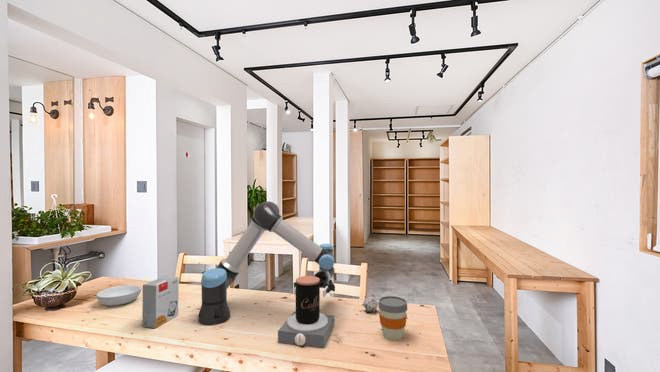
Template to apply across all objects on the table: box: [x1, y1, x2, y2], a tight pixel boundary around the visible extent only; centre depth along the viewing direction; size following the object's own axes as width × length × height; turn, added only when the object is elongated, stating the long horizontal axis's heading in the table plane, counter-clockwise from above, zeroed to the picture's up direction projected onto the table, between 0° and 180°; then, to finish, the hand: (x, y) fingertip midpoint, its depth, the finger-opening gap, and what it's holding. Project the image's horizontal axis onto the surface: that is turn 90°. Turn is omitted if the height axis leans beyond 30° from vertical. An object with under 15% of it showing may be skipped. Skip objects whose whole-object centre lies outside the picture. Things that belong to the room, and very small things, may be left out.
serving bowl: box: [96, 284, 142, 306], centre depth 175 cm, size 21×21×7 cm
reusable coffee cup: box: [377, 295, 408, 341], centre depth 136 cm, size 13×12×15 cm
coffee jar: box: [295, 275, 321, 324], centre depth 137 cm, size 11×11×18 cm
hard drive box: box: [141, 275, 180, 329], centre depth 151 cm, size 16×8×20 cm, turn 166°
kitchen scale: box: [277, 311, 335, 349], centre depth 137 cm, size 20×21×6 cm
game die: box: [361, 294, 379, 314], centre depth 161 cm, size 9×8×10 cm
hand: (309, 292), depth 138 cm, fingers open, 13 cm apart
